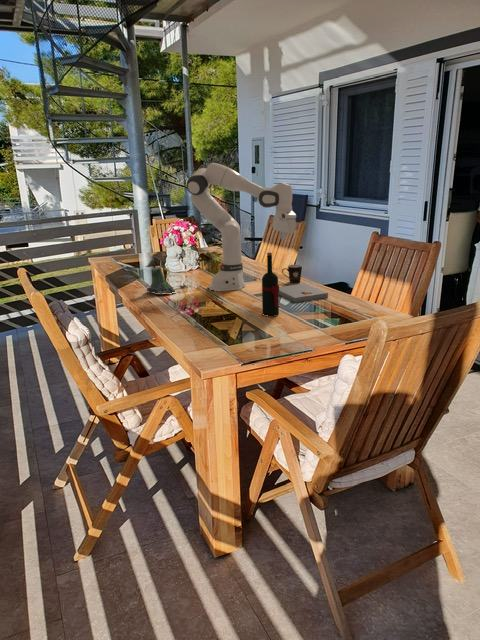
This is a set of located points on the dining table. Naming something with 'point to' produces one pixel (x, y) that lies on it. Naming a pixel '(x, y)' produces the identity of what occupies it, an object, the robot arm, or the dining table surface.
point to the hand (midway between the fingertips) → (283, 239)
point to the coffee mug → (294, 273)
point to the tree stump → (159, 282)
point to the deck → (301, 292)
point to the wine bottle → (270, 290)
